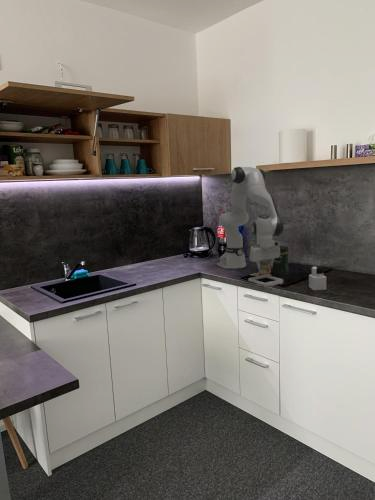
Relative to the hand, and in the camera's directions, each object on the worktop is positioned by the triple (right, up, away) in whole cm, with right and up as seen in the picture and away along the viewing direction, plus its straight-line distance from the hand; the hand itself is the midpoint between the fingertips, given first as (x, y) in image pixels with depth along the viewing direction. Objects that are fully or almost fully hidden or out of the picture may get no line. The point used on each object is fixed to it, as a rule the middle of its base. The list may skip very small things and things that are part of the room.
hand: (265, 267), depth 224 cm
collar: (0, -3, +1) cm, 3 cm away
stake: (+1, -7, +17) cm, 18 cm away
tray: (0, -9, +1) cm, 9 cm away
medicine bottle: (+25, -11, -14) cm, 31 cm away
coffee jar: (+13, -6, +19) cm, 24 cm away
